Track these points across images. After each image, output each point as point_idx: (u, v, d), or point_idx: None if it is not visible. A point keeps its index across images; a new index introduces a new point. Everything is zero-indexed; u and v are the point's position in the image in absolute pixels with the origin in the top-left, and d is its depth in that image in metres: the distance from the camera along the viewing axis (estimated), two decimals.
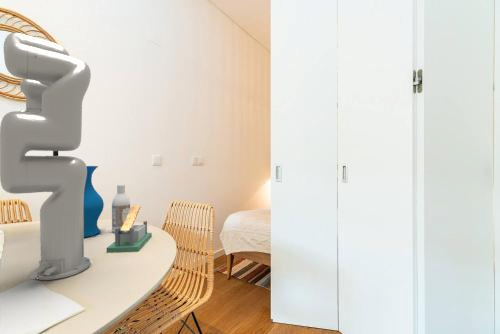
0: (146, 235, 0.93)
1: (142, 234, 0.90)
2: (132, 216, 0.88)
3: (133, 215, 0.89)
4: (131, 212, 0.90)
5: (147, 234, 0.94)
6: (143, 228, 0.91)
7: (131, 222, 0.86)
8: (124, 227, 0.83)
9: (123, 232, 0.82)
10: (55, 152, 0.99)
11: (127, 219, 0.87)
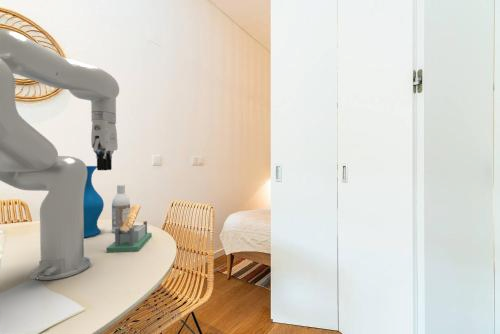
0: (146, 235, 0.93)
1: (142, 234, 0.90)
2: (132, 216, 0.88)
3: (133, 215, 0.89)
4: (131, 212, 0.90)
5: (147, 234, 0.94)
6: (143, 228, 0.91)
7: (131, 222, 0.86)
8: (124, 227, 0.83)
9: (123, 232, 0.82)
10: (111, 163, 0.88)
11: (127, 219, 0.87)
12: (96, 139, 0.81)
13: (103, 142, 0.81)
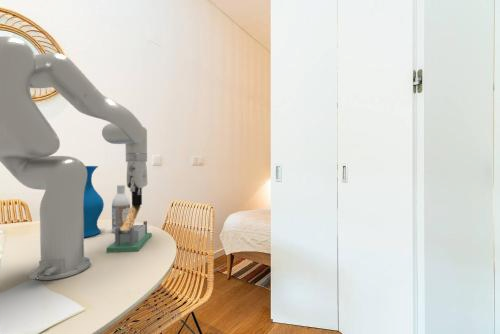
0: (146, 235, 0.93)
1: (142, 234, 0.90)
2: (132, 216, 0.88)
3: (133, 215, 0.89)
4: (131, 212, 0.90)
5: (147, 234, 0.94)
6: (143, 228, 0.91)
7: (131, 222, 0.86)
8: (124, 227, 0.83)
9: (123, 232, 0.82)
10: (141, 198, 0.95)
11: (127, 219, 0.87)
12: (131, 179, 0.89)
13: (137, 182, 0.89)
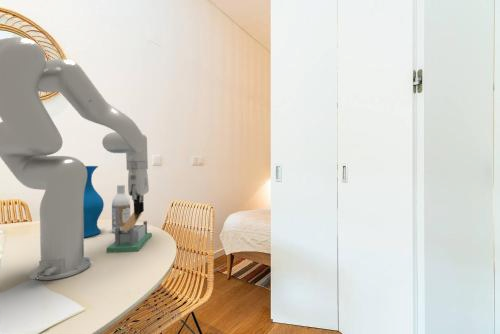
0: (146, 235, 0.93)
1: (142, 234, 0.90)
2: (132, 220, 0.89)
3: (134, 219, 0.89)
4: (132, 217, 0.91)
5: (147, 234, 0.94)
6: (143, 228, 0.91)
7: (132, 224, 0.86)
8: (124, 228, 0.84)
9: (123, 232, 0.82)
10: (143, 205, 0.96)
11: (128, 222, 0.87)
12: (133, 188, 0.90)
13: (139, 190, 0.90)
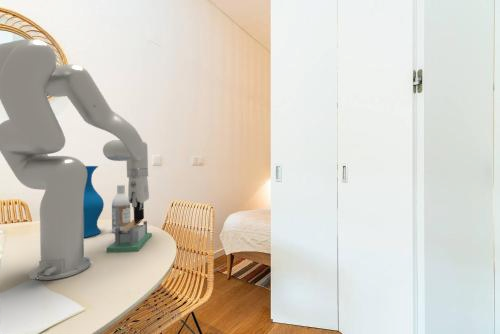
0: (146, 235, 0.93)
1: (142, 234, 0.90)
2: (133, 224, 0.89)
3: (134, 223, 0.90)
4: (133, 222, 0.91)
5: (147, 234, 0.94)
6: (143, 228, 0.91)
7: (132, 226, 0.86)
8: (124, 229, 0.84)
9: (123, 231, 0.82)
10: (143, 213, 0.96)
11: (128, 225, 0.88)
12: (133, 195, 0.90)
13: (139, 197, 0.90)
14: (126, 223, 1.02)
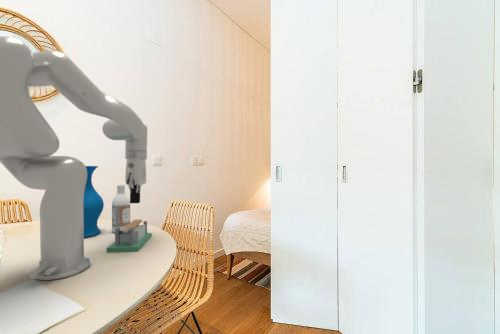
0: (146, 235, 0.93)
1: (142, 234, 0.90)
2: (133, 224, 0.89)
3: (134, 224, 0.90)
4: (133, 222, 0.91)
5: (147, 234, 0.94)
6: (143, 228, 0.91)
7: None
8: (124, 229, 0.84)
9: (123, 231, 0.82)
10: (139, 196, 0.94)
11: (128, 225, 0.88)
12: (130, 176, 0.89)
13: (136, 178, 0.88)
14: (126, 223, 1.02)
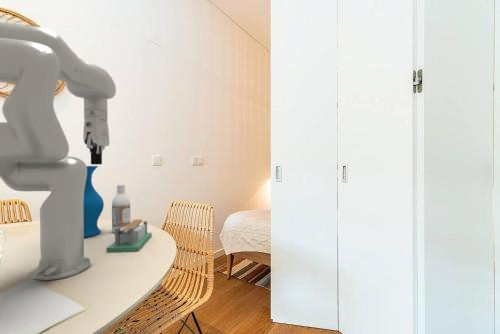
0: (146, 235, 0.93)
1: (142, 234, 0.90)
2: (133, 224, 0.89)
3: (134, 224, 0.90)
4: (133, 222, 0.91)
5: (147, 234, 0.94)
6: (143, 228, 0.91)
7: None
8: (124, 229, 0.84)
9: (123, 231, 0.82)
10: (101, 158, 0.92)
11: (128, 225, 0.88)
12: (88, 136, 0.87)
13: (94, 138, 0.87)
14: (126, 223, 1.02)
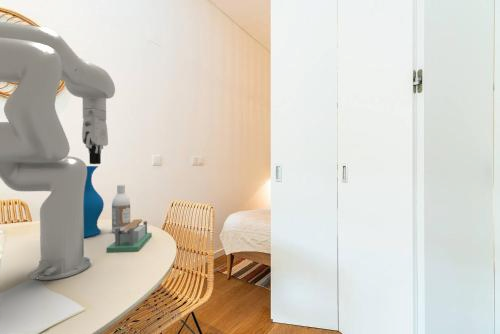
0: (146, 235, 0.93)
1: (142, 234, 0.90)
2: (133, 224, 0.89)
3: (134, 224, 0.90)
4: (133, 222, 0.91)
5: (147, 234, 0.94)
6: (143, 228, 0.91)
7: None
8: (124, 229, 0.84)
9: (123, 231, 0.82)
10: (100, 157, 0.92)
11: (128, 225, 0.88)
12: (87, 135, 0.87)
13: (93, 137, 0.87)
14: (126, 223, 1.02)
